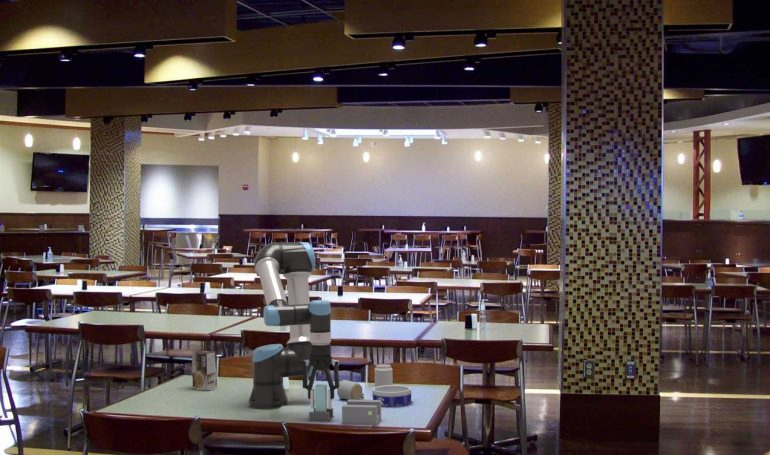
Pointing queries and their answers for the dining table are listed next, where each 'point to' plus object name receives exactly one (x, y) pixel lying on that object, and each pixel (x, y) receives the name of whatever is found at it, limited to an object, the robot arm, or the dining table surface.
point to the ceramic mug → (349, 390)
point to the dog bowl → (392, 395)
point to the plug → (321, 397)
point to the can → (383, 375)
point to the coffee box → (204, 370)
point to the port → (362, 412)
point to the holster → (321, 416)
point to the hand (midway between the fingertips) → (321, 407)
